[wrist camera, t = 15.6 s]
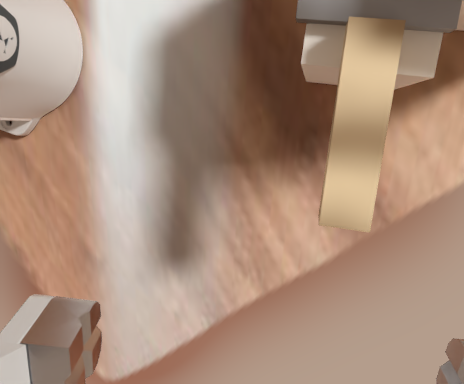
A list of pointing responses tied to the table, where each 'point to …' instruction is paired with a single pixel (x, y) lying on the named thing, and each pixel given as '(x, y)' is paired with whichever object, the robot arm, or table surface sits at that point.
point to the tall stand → (461, 18)
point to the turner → (366, 94)
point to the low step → (331, 45)
